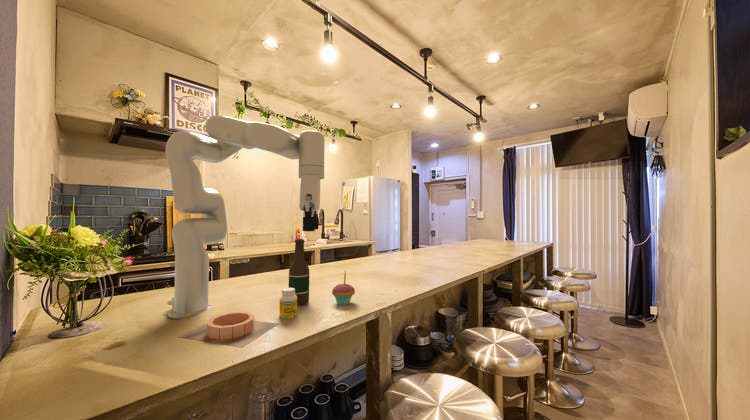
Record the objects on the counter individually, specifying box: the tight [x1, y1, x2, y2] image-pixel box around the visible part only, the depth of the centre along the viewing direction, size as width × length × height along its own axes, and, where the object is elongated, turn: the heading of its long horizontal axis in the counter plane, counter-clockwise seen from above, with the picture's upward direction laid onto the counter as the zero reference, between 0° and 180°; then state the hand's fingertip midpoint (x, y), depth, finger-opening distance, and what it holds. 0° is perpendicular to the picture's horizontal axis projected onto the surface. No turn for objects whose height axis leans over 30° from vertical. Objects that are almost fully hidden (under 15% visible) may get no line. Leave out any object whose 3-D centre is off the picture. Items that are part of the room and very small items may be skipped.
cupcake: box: [331, 270, 356, 306], centre depth 105 cm, size 9×8×12 cm
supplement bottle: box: [279, 287, 298, 320], centre depth 88 cm, size 5×5×10 cm
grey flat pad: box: [178, 320, 279, 349], centre depth 77 cm, size 20×15×1 cm
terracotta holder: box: [206, 311, 255, 340], centre depth 77 cm, size 11×11×3 cm
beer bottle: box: [288, 238, 310, 307], centre depth 104 cm, size 8×8×24 cm
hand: (311, 230), depth 83 cm, fingers open, 9 cm apart
